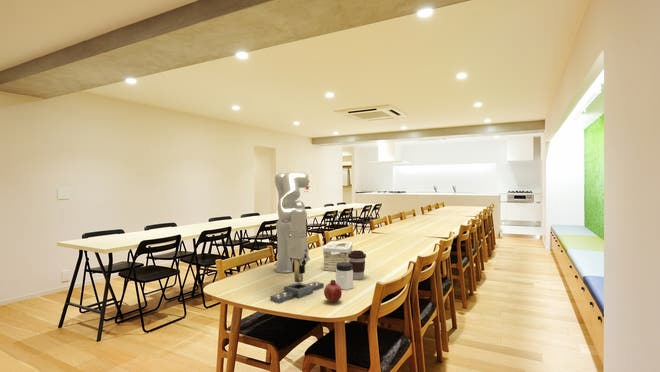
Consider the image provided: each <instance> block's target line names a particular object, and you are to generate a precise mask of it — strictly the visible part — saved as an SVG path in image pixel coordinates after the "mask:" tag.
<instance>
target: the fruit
mask: <svg viewBox="0 0 660 372" xmlns="http://www.w3.org/2000/svg"><path fill="white" fill-rule="evenodd" d="M323 294H324V297H325V299H326V300H327V301H329V302H332V303H336V302H337V301H339V300H340V299H341V297H342V290H341V288H340V286H339V285H337V284H336V279H335V280H334V279H331V280H330V282H329V283H328V284H326V285H325V286H324V290H323Z"/></svg>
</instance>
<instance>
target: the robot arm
mask: <svg viewBox="0 0 660 372" xmlns="http://www.w3.org/2000/svg"><path fill="white" fill-rule="evenodd" d="M274 184H275V187H276V190H277V193H278V203H277V215H278V220H277V221H276V223H275V228H276V229H275V230H276V238H277V261H276V262H275V263H274V266H276V267H275V269H274V272H276V273H280V274H289V273H294V259H299V260H300V266H299V274H303V275H304V274H305V273H306V265H307V263H308V262H309V261H310V260H311V258H310V257H309V243H308V242H309V241H308V237H307V217H308V213H307V211H306V207H305V203H304V201H301V200H298V199H299V198H300V196H301V191H300V189H301V188H302V189H306V188H308V186H309V177H308V175H307V174H306V173H305V172H282V173H277V174H276V175H275V176H274ZM302 260H303V262H302Z"/></svg>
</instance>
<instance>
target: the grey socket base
mask: <svg viewBox="0 0 660 372" xmlns="http://www.w3.org/2000/svg"><path fill="white" fill-rule="evenodd" d="M323 288H324V289H325V284H324V283H323V282H319V281H312V282H310V283H303V282H294V283H293V284H288V285H286V286H283V291H280V292H277V293H276V294H273V295H270V298H269V299H270V300H269V301H271V302H274V303H277V304H281V303H284V302H287V301H290V300H292V299H295V298H296V299H301V298H303V297H307V296H308V295H311V294H314V292H315V291H317V290H320V289H323Z"/></svg>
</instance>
